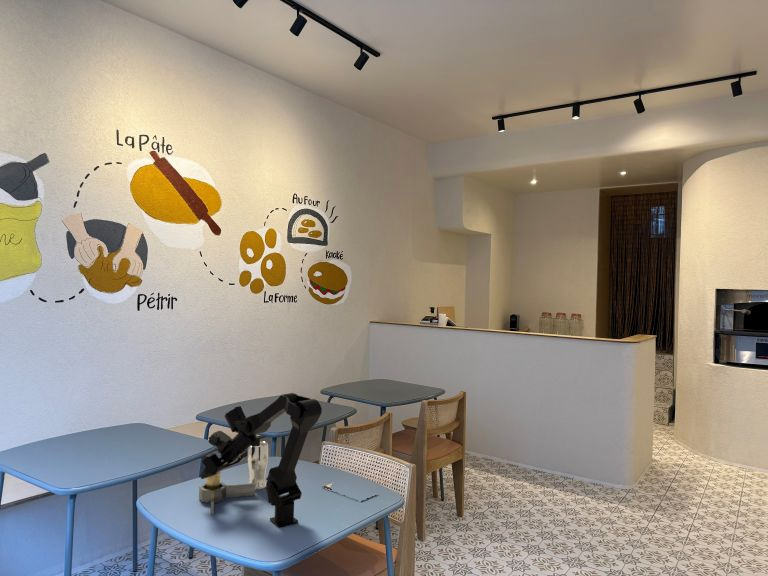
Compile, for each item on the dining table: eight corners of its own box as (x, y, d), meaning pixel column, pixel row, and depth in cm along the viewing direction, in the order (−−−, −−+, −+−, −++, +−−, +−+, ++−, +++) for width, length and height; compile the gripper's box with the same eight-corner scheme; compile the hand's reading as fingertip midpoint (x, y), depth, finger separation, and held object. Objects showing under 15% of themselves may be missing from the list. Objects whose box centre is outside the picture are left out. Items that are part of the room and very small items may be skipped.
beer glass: (254, 491, 186) (255, 448, 186) (242, 486, 191) (244, 443, 191) (271, 486, 191) (272, 444, 191) (259, 481, 196) (261, 440, 196)
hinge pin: (221, 499, 179) (222, 461, 179) (208, 502, 176) (209, 463, 176) (217, 495, 182) (218, 457, 182) (203, 497, 180) (205, 459, 180)
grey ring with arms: (265, 503, 177) (266, 490, 177) (211, 515, 166) (211, 502, 166) (245, 487, 190) (245, 475, 190) (193, 497, 179) (193, 485, 179)
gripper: (240, 418, 187) (212, 446, 190) (208, 431, 169) (177, 462, 172) (260, 443, 185) (231, 472, 188) (229, 459, 167) (197, 490, 170)
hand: (209, 473), depth 180 cm, fingers open, 9 cm apart
